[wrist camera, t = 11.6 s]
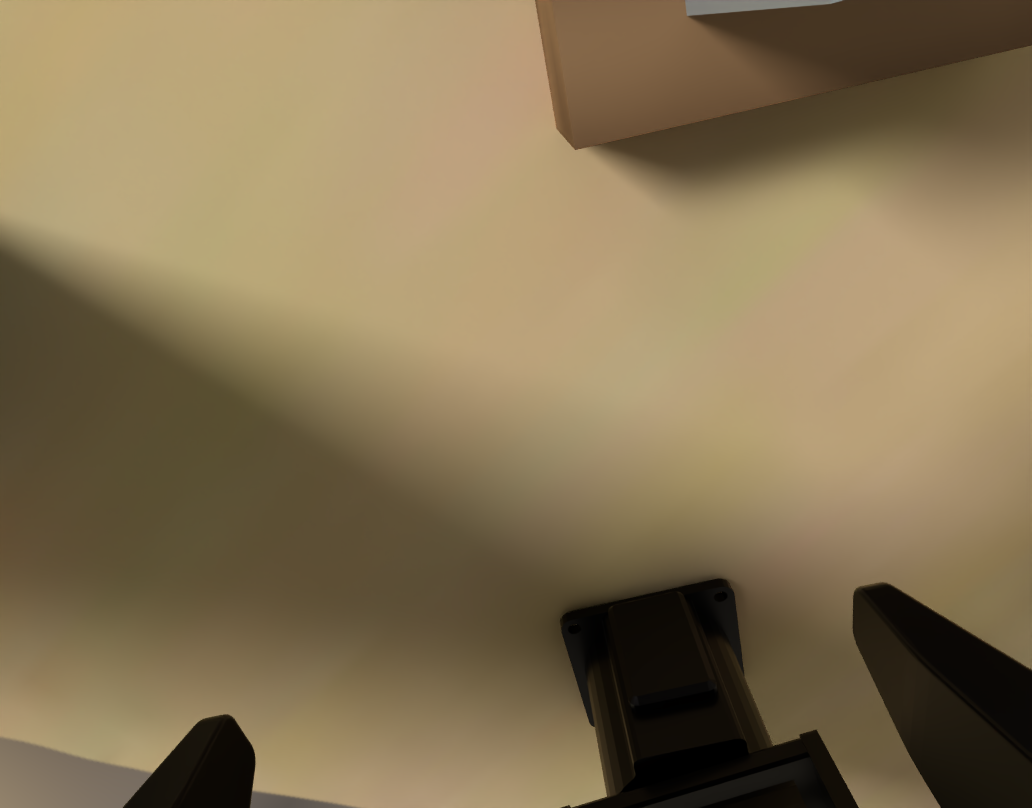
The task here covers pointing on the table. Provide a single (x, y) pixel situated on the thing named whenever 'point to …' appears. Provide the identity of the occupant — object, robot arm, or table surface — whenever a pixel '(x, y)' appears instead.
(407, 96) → the table surface
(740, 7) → the slate cube
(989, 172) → the table surface
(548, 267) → the table surface
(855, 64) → the walnut block
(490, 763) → the table surface
